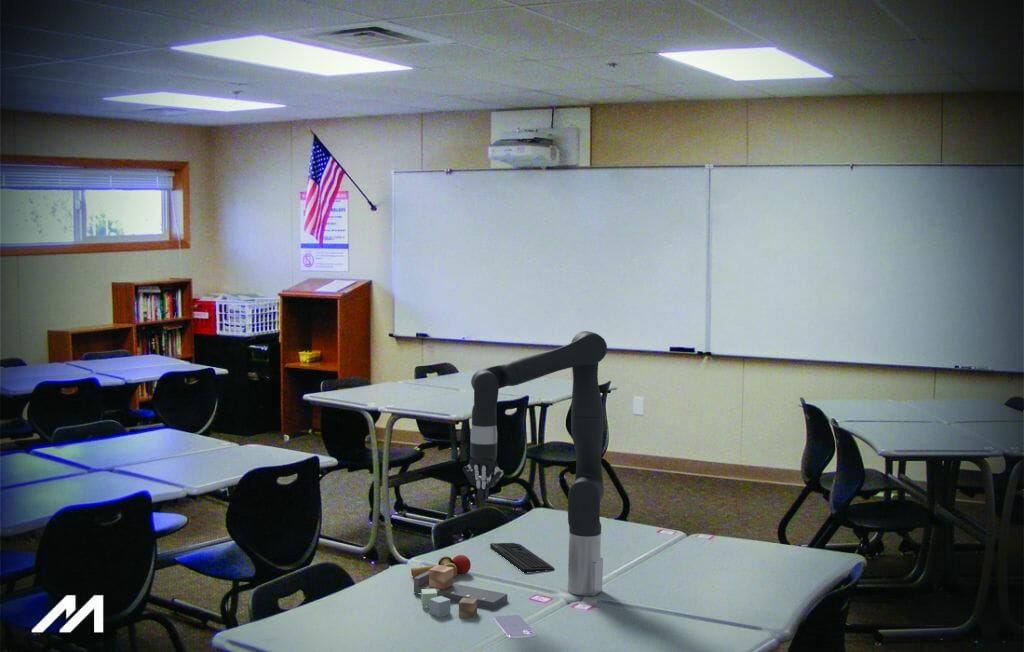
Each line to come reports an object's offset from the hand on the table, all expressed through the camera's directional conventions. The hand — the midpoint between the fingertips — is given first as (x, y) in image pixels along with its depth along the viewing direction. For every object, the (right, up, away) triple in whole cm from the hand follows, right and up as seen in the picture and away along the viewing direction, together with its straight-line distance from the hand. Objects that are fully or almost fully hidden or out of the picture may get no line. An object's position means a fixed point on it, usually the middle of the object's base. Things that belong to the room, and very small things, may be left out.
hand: (482, 501), depth 281 cm
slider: (-12, -25, +2) cm, 27 cm away
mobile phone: (+9, -29, -23) cm, 38 cm away
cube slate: (-11, -28, -14) cm, 33 cm away
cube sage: (-15, -27, -8) cm, 32 cm away
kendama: (-13, -26, +18) cm, 34 cm away
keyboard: (+11, -26, +37) cm, 47 cm away
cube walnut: (-4, -28, -15) cm, 32 cm away
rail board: (-6, -27, -1) cm, 28 cm away
